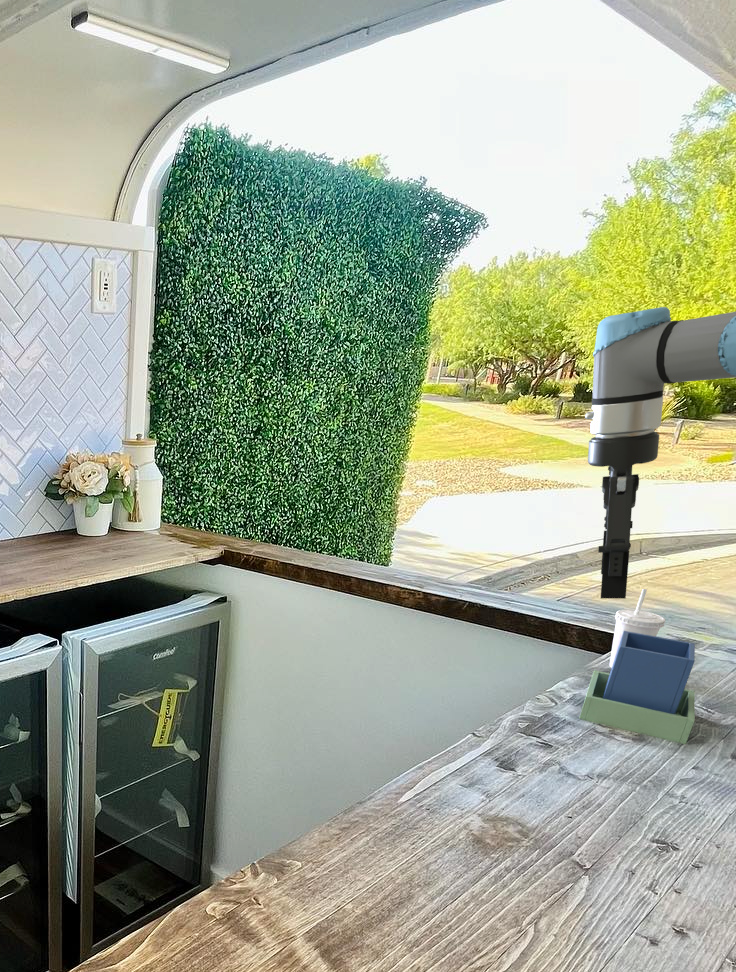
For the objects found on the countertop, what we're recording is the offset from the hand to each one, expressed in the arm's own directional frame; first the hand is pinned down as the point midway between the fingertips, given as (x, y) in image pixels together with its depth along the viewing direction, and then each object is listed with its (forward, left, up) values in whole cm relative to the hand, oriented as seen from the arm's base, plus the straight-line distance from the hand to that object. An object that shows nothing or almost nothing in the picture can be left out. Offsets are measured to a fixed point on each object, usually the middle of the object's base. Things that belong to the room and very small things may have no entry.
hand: (612, 585), depth 110 cm
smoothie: (-5, -17, -18) cm, 25 cm away
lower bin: (-7, +3, -18) cm, 20 cm away
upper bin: (-7, +3, -17) cm, 19 cm away
